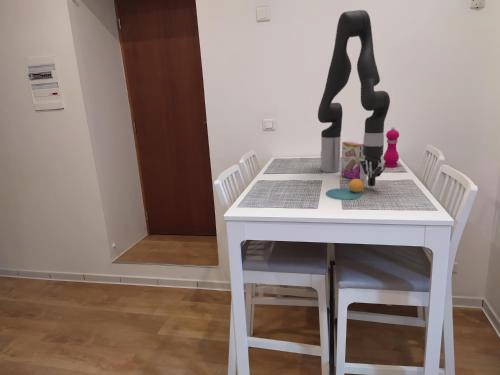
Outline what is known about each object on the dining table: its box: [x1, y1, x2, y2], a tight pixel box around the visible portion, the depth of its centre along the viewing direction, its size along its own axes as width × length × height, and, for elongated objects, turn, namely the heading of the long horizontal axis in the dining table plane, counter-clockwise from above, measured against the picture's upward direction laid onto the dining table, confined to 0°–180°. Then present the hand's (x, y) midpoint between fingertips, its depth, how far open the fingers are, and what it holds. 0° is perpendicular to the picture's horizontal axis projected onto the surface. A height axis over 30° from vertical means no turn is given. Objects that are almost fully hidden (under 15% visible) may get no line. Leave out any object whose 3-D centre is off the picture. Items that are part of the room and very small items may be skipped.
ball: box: [348, 179, 365, 193], centre depth 134 cm, size 6×6×6 cm
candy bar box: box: [341, 140, 368, 181], centre depth 153 cm, size 11×5×16 cm, turn 31°
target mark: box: [325, 187, 363, 201], centre depth 134 cm, size 14×14×1 cm
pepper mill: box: [382, 126, 400, 169], centre depth 169 cm, size 7×7×20 cm
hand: (371, 185), depth 137 cm, fingers closed
